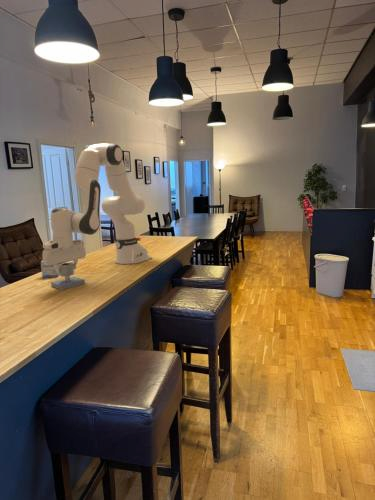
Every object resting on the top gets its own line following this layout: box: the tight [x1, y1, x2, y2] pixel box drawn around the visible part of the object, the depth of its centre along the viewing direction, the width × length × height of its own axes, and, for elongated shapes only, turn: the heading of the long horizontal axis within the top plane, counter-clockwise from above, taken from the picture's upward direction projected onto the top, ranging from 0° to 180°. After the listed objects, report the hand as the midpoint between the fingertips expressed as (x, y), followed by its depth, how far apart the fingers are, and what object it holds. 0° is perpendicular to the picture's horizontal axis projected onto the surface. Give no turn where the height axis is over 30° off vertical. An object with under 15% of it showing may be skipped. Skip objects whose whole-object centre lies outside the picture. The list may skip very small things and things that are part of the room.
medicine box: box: [40, 260, 60, 279], centre depth 183 cm, size 8×4×9 cm, turn 105°
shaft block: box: [50, 275, 86, 291], centre depth 167 cm, size 12×10×8 cm
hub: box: [58, 262, 76, 278], centre depth 166 cm, size 6×6×5 cm
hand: (66, 270), depth 166 cm, fingers closed on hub, 6 cm apart
